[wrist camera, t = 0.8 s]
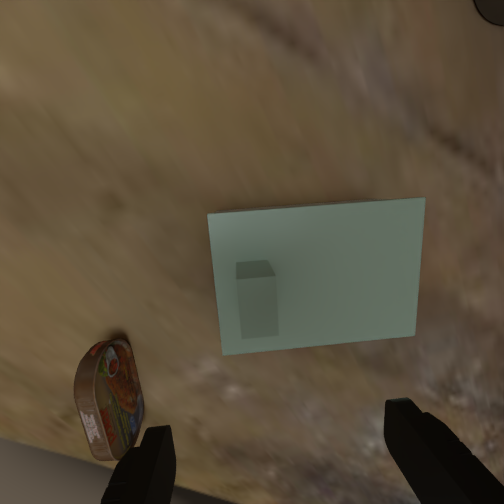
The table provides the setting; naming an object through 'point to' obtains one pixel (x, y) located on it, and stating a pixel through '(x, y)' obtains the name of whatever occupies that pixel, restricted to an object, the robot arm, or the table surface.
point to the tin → (109, 399)
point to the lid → (316, 273)
